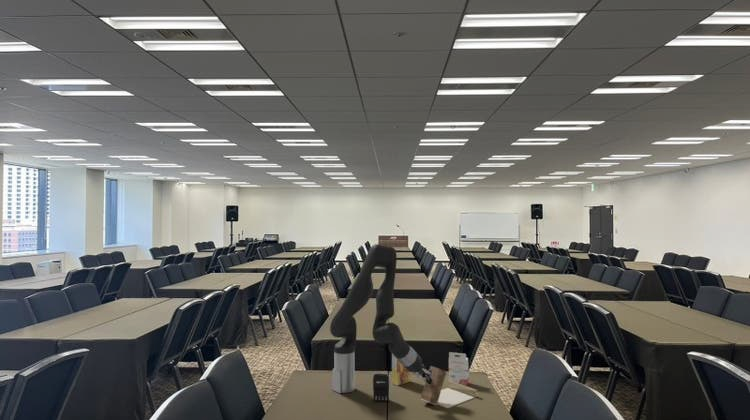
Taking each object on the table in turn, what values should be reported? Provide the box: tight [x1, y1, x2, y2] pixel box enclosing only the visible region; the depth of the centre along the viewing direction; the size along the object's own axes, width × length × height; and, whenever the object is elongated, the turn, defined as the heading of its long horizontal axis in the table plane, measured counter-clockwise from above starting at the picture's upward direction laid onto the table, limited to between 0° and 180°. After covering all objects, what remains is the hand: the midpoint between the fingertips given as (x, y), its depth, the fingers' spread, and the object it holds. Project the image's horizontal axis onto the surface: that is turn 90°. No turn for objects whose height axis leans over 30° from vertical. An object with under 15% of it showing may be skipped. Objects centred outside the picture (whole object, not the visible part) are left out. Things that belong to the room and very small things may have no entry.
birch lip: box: [448, 380, 478, 399], centre depth 207 cm, size 2×15×3 cm, turn 39°
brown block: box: [420, 365, 447, 406], centre depth 196 cm, size 5×5×14 cm
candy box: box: [391, 353, 412, 386], centre depth 221 cm, size 9×4×15 cm, turn 129°
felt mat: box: [437, 387, 475, 409], centre depth 201 cm, size 17×15×1 cm
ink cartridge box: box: [448, 351, 470, 387], centre depth 219 cm, size 9×5×15 cm, turn 68°
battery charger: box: [372, 372, 390, 403], centre depth 198 cm, size 7×4×11 cm, turn 86°
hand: (429, 381), depth 194 cm, fingers closed
